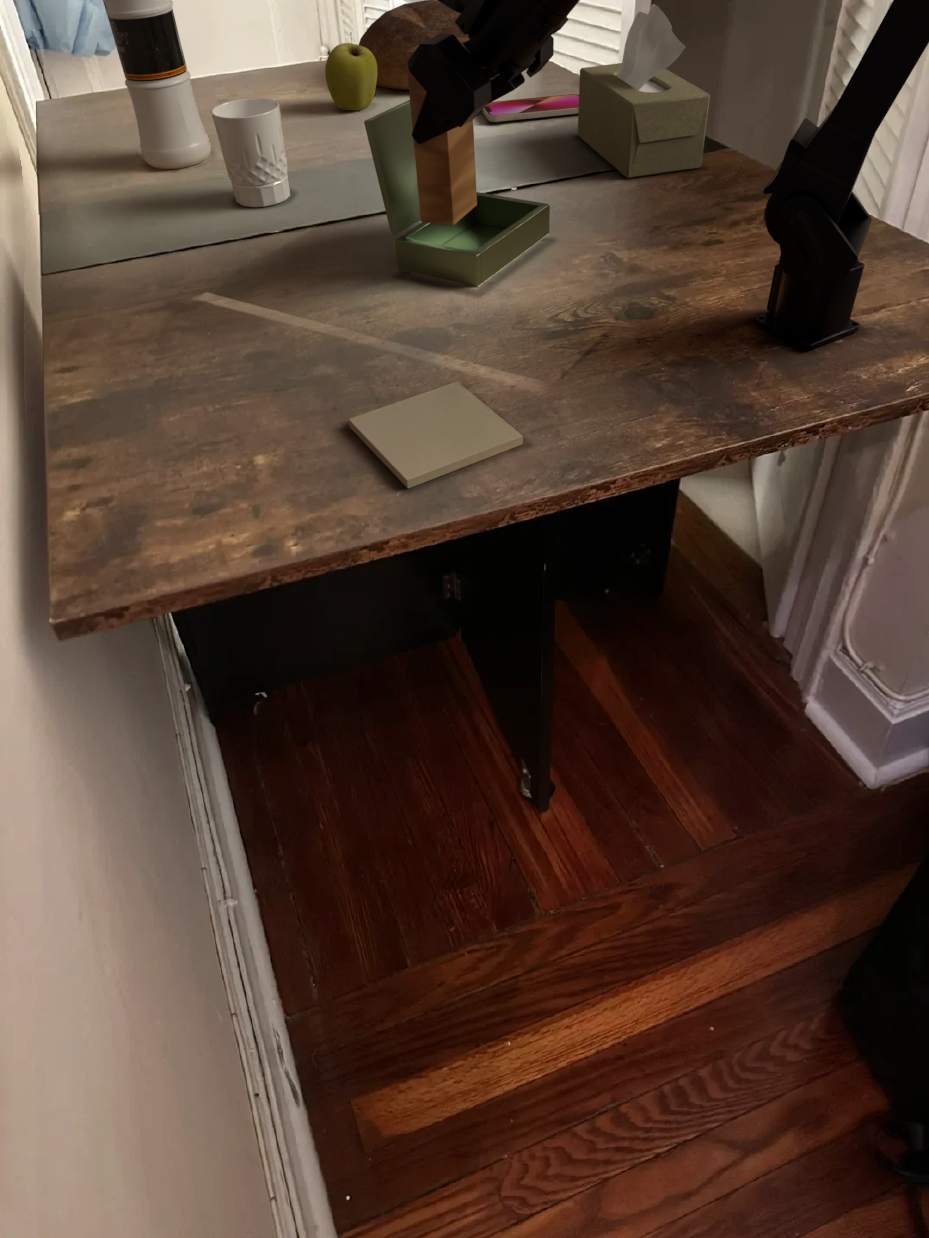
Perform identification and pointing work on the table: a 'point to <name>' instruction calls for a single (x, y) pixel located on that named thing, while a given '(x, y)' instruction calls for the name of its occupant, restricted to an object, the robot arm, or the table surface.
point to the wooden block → (443, 165)
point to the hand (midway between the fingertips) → (430, 130)
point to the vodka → (158, 83)
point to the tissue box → (644, 105)
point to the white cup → (253, 150)
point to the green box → (474, 240)
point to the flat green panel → (395, 165)
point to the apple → (351, 76)
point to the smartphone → (532, 108)
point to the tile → (434, 433)
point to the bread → (406, 37)
